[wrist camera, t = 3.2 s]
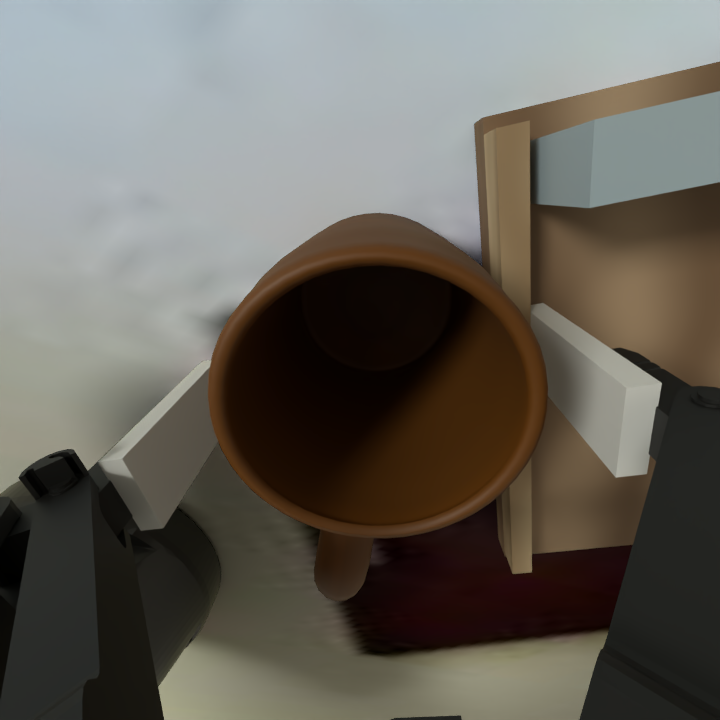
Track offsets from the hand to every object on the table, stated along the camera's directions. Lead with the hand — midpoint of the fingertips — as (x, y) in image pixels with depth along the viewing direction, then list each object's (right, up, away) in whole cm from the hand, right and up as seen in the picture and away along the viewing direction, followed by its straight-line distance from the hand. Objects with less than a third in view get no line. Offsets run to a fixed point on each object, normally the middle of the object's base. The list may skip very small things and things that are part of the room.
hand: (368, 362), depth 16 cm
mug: (0, +1, +2) cm, 2 cm away
